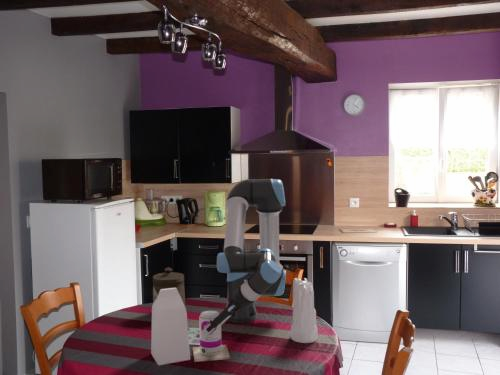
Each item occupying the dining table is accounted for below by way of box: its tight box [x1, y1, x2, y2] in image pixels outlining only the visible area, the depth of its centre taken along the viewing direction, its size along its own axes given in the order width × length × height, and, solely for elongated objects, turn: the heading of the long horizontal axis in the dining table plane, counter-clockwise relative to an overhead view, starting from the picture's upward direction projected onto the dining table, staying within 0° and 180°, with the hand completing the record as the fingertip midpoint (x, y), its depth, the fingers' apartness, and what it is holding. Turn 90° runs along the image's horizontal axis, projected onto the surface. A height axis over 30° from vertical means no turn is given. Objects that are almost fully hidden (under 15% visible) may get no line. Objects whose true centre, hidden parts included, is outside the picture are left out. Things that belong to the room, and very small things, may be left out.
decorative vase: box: [290, 277, 319, 344], centre depth 213 cm, size 11×11×25 cm
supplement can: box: [198, 309, 223, 356], centre depth 198 cm, size 8×8×15 cm
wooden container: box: [152, 266, 186, 307], centre depth 246 cm, size 15×15×22 cm
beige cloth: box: [192, 344, 231, 363], centre depth 199 cm, size 13×12×1 cm
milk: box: [150, 288, 191, 366], centre depth 196 cm, size 12×12×26 cm
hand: (210, 329), depth 198 cm, fingers open, 13 cm apart
